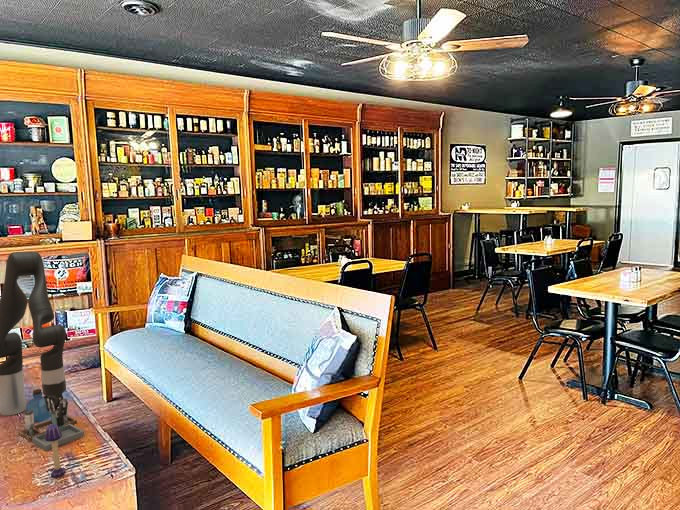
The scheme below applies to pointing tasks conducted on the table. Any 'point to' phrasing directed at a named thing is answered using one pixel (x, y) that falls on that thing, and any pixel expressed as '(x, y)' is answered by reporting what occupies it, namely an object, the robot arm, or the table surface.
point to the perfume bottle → (38, 406)
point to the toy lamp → (55, 449)
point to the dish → (68, 435)
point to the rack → (22, 432)
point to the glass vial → (29, 423)
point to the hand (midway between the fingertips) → (57, 424)
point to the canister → (66, 417)
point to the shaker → (55, 419)
